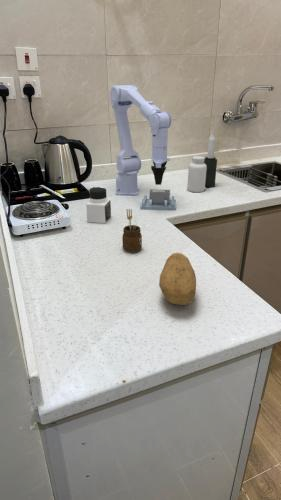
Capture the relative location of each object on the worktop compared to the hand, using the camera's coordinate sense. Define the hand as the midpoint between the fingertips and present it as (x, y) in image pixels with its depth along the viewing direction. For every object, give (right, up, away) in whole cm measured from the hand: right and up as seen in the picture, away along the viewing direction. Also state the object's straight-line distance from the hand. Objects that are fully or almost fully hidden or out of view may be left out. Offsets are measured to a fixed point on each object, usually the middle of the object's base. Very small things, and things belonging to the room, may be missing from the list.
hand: (159, 181), depth 141 cm
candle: (+25, +3, +28) cm, 38 cm away
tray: (0, -9, +4) cm, 10 cm away
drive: (0, -8, +4) cm, 9 cm away
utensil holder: (-10, -27, -30) cm, 42 cm away
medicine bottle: (-23, -16, -9) cm, 29 cm away
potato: (+2, -39, -54) cm, 66 cm away
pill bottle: (+18, 0, +23) cm, 29 cm away
